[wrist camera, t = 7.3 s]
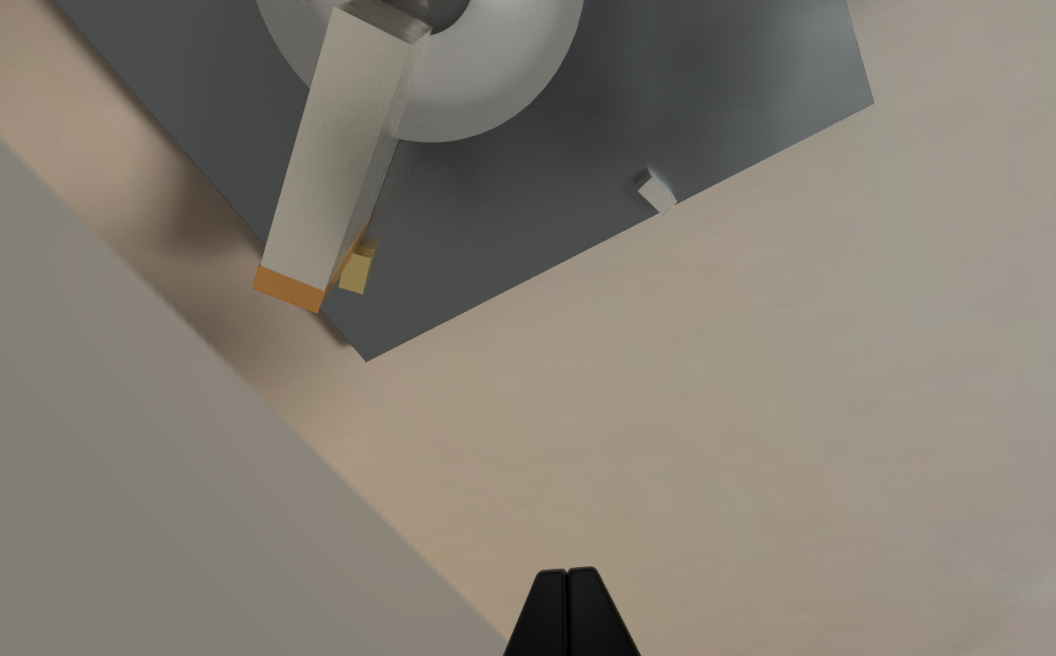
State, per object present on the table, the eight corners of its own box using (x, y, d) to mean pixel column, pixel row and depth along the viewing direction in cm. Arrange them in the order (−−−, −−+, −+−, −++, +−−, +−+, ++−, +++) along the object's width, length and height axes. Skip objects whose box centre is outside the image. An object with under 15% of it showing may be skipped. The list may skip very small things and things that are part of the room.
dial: (320, -319, 12) (217, -443, 8) (641, -120, 13) (682, -145, 9) (213, 169, 17) (118, 235, 13) (456, 273, 18) (434, 359, 14)
